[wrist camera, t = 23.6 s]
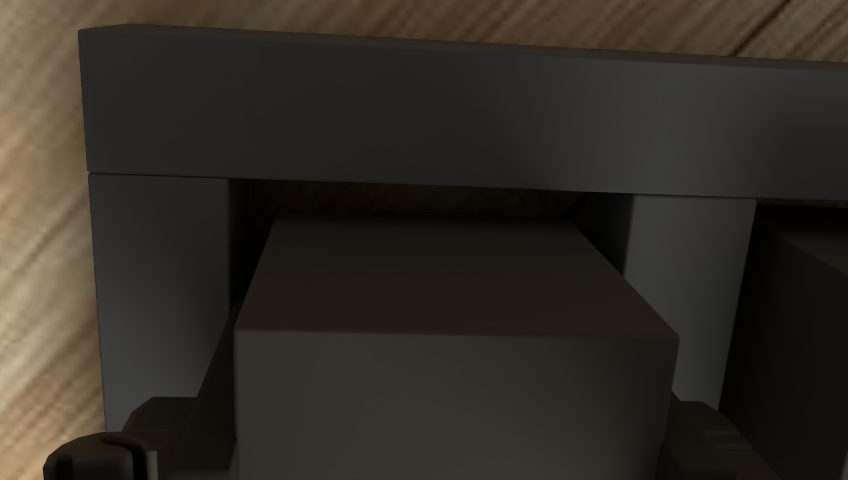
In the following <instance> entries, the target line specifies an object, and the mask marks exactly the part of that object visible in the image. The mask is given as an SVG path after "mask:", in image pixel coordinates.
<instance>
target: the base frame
mask: <svg viewBox="0 0 848 480" xmlns="http://www.w3.org/2000/svg"><path fill="white" fill-rule="evenodd" d="M78 44H79V59H80V73H81V87H82V102H83V116H84V131H85V145H86V160H87V171H88V172H90V173H89V175H88V184H89V198H90V213H91V227H92V242H93V256H94V271H95V285H96V299H97V314H98V328H99V343H100V357H101V372H102V386H103V400H104V415H105V429H106V432H119V431H122V429H123V427H124V425H125V423H126V421H127V420H128V418H129V416H130V414H131V412H132V411H134V410H135V409H136V408H138V407H139V406H140V405H142V404H143V403H145V402H146V401H147V400H149V399H150V398H151V397H197V395H198V392H199V390H200V387H201V385H202V382H203V380H204V377H205V375H206V372H207V370H208V367H209V365H210V362H211V360H212V357H213V355H214V352H215V350H216V348H217V345H218V343H219V340H220V338H221V335H222V333H223V330H224V328H225V325H226V323H227V320H228V318H229V315H230V313H231V310H232V308H233V305H234V303H235V300H236V298H237V295H238V293H239V290H240V288H241V287H250V284H251V231H250V179H267V180H294V181H320V182H347V183H373V184H399V185H426V186H452V187H479V188H505V189H532V190H558V191H585V192H588V193H587V201H586V209H585V218H584V226H583V235H584V236H585V237H586V238H587V239H588V240H589V242H590V243H591V244H592V245H593V246H594V247H595V248H596V249H597V250H598V251H599V252H600V253H601V254H602V255H603V256H604V257H605V258H606V259H607V260H608V261H609V263H610V264H611V265H612V266H613V267H614V268H615V269H616V270H617V271H618V272H619V273H620V274H621V275H622V276H623V277H624V278H625V279H626V280H627V281H628V282H629V284H630V285H631V286H632V287H633V288H634V289H635V290H636V291H637V292H638V293H639V294H640V295H641V296H642V297H643V298H644V299H645V300H646V301H647V302H648V303H649V305H650V306H651V307H652V308H653V309H654V310H655V311H656V312H657V313H658V314H659V315H660V316H661V317H662V318H663V319H664V320H665V321H666V322H667V323H668V325H669V326H670V327H671V328H672V329H673V330H674V331H675V332H676V333H677V334H678V335H679V338H680V343H679V349H678V355H677V361H676V367H675V373H674V379H673V385H672V391H673V392H674V394H675V395H676V396H677V397H678V399H679V400H680V401H702V402H704V403H705V404H707V405H709V406H710V407H712V408H714V409H715V410H717V411H718V408H719V402H720V397H721V392H722V386H723V381H724V375H725V370H726V365H727V359H728V354H729V349H730V343H731V338H732V332H733V327H734V322H735V316H736V311H737V306H738V300H739V295H740V289H741V284H742V279H743V273H744V268H745V263H746V257H747V252H748V246H749V241H750V236H751V230H752V225H753V220H754V214H755V209H756V203H757V201H756V199H755V198H770V199H796V200H823V201H848V63H842V62H824V61H805V60H787V59H769V58H751V57H732V56H714V55H696V54H678V53H659V52H641V51H623V50H605V49H586V48H568V47H550V46H532V45H513V44H495V43H477V42H459V41H440V40H422V39H404V38H386V37H367V36H349V35H331V34H313V33H294V32H276V31H258V30H240V29H221V28H203V27H185V26H167V25H148V24H130V23H127V24H119V25H111V26H103V27H95V28H86V29H80V30H78Z"/></svg>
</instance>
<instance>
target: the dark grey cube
mask: <svg viewBox="0 0 848 480" xmlns="http://www.w3.org/2000/svg"><path fill="white" fill-rule="evenodd" d="M718 412H720V413H722V414H723V415H725V416H726V417H727V418H728V419H729V421H730V422H731V423H732V424H733V425H734V426H735V427H736V429H737V430H738V431H739V432H740V436H743V437H744V438H745V439H746V440H747V441H748V442H749V443H750V445H751V446H752V450H756V451H757V453H758V454H759V455H760V456H761V457H762V458H763V459H764V461H765V462H766V463H767V464H768V465H769V466H770V467H771V469H772V470H773V471H774V472H775V473H776V474H777V475H778V477H779V478H780V479H781V480H848V208H825V207H800V206H774V205H756V209H755V214H754V220H753V225H752V230H751V236H750V241H749V246H748V252H747V257H746V263H745V268H744V273H743V279H742V284H741V289H740V295H739V300H738V306H737V311H736V316H735V322H734V327H733V332H732V338H731V343H730V349H729V354H728V359H727V365H726V370H725V375H724V381H723V386H722V392H721V397H720V402H719V408H718Z"/></svg>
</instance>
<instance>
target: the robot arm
mask: <svg viewBox="0 0 848 480" xmlns="http://www.w3.org/2000/svg"><path fill="white" fill-rule="evenodd" d="M248 290H249V287H241V288H240V290H239V293H238V295H237V298H236V300H235V303H234V305H233V308H232V310H231V313H230V315H229V318H228V320H227V323H226V325H225V328H224V330H223V333H222V335H221V338H220V340H219V343H218V345H217V348H216V350H215V352H214V355H213V357H212V360H211V362H210V365H209V367H208V370H207V372H206V375H205V377H204V380H203V382H202V385H201V387H200V390H199V392H198V395H197V397H151V398H150V399H149V400H147V401H146V402H145V403H143V404H142V405H140V406H139V407H138V408H136V409H135V410H134V411H132V412H131V414H130V416H129V418H128V420H127V421H126V423H125V425H124V427H123V429H122V431H119V432H100V433H96V434H91V435H87V436H83V437H79V438H77V439H75V440H72V441H70V442H68V443H66V444H63V445H61V446H60V447H59V448H58V449H56V450H55V451H54V452H53V453H52V454H50V455H49V456H48V458H47V460H46V462H45V464H44V466H43V475H44V480H238V479H237V439H236V438H235V411H234V339H233V330H234V327H235V324H236V322H237V319H238V316H239V314H240V311H241V308H242V306H243V303H244V300H245V298H246V295H247V292H248ZM656 480H781V479H780V478H779V477H778V475H777V474H776V473H775V472H774V471H773V470H772V469H771V467H770V466H769V465H768V464H767V463H766V462H765V461H764V459H763V458H762V457H761V456H760V455H759V454H758V453H757V451H756V450H752V446H751V445H750V443H749V442H748V441H747V440H746V439H745V438H744V437H743V436H740V432H739V431H738V430H737V429H736V427H735V426H734V425H733V424H732V423H731V422H730V421H729V419H728V418H727V417H726V416H725V415H723V414H722V413H720V412H718V411H717V410H715V409H714V408H712V407H710V406H709V405H707V404H705V403H704V402H702V401H680V400H679V399H678V397H677V396H676V395H675V394H674V392H673V391H672V392H671V398H670V404H669V410H668V416H667V422H666V428H665V434H664V440H663V442H662V447H661V454H660V460H659V466H658V472H657V478H656Z"/></svg>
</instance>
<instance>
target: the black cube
mask: <svg viewBox="0 0 848 480" xmlns="http://www.w3.org/2000/svg"><path fill="white" fill-rule="evenodd" d="M233 339H234V411H235V438H236V439H237V479H238V480H656V478H657V472H658V466H659V460H660V454H661V447H662V442H663V440H664V434H665V428H666V422H667V416H668V410H669V404H670V398H671V392H672V385H673V379H674V373H675V367H676V361H677V355H678V349H679V343H680V338H679V335H678V334H677V333H676V332H675V331H674V330H673V329H672V328H671V327H670V326H669V325H668V323H667V322H666V321H665V320H664V319H663V318H662V317H661V316H660V315H659V314H658V313H657V312H656V311H655V310H654V309H653V308H652V307H651V306H650V305H649V303H648V302H647V301H646V300H645V299H644V298H643V297H642V296H641V295H640V294H639V293H638V292H637V291H636V290H635V289H634V288H633V287H632V286H631V285H630V284H629V282H628V281H627V280H626V279H625V278H624V277H623V276H622V275H621V274H620V273H619V272H618V271H617V270H616V269H615V268H614V267H613V266H612V265H611V264H610V263H609V261H608V260H607V259H606V258H605V257H604V256H603V255H602V254H601V253H600V252H599V251H598V250H597V249H596V248H595V247H594V246H593V245H592V244H591V243H590V242H589V240H588V239H587V238H586V237H585V236H584V235H583V234H582V233H581V232H580V231H579V230H578V229H577V228H576V227H575V226H574V225H573V224H572V223H571V222H570V221H569V220H567V219H544V218H515V217H486V216H457V215H427V214H398V213H369V212H340V211H311V210H282V209H281V210H279V211H278V213H277V215H276V218H275V221H274V223H273V226H272V229H271V231H270V234H269V237H268V239H267V242H266V245H265V247H264V250H263V253H262V255H261V258H260V261H259V263H258V266H257V269H256V271H255V274H254V277H253V279H252V282H251V284H250V287H249V290H248V292H247V295H246V298H245V300H244V303H243V306H242V308H241V311H240V314H239V316H238V319H237V322H236V324H235V327H234V330H233Z"/></svg>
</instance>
